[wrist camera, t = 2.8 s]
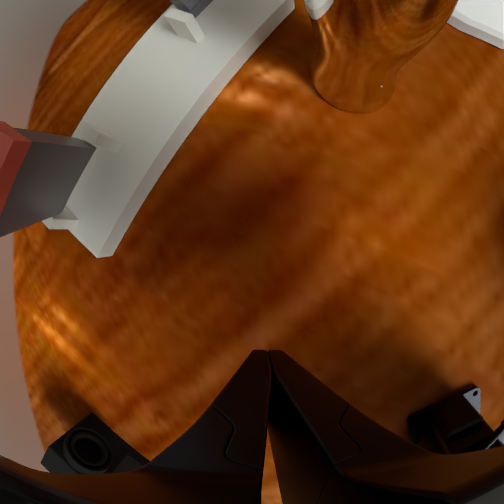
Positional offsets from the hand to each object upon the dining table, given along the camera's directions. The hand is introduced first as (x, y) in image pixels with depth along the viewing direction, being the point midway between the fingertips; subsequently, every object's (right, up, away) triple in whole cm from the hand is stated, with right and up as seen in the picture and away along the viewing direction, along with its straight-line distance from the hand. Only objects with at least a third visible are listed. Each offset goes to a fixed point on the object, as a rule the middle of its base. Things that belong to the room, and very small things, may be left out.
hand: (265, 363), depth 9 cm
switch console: (-7, +15, +12) cm, 21 cm away
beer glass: (+7, +15, +10) cm, 20 cm away
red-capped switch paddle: (-12, +8, +9) cm, 18 cm away
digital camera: (-12, -16, +15) cm, 25 cm away
